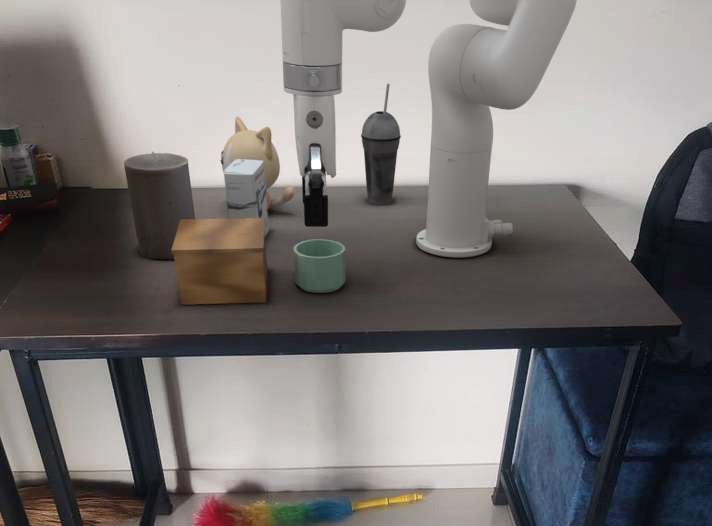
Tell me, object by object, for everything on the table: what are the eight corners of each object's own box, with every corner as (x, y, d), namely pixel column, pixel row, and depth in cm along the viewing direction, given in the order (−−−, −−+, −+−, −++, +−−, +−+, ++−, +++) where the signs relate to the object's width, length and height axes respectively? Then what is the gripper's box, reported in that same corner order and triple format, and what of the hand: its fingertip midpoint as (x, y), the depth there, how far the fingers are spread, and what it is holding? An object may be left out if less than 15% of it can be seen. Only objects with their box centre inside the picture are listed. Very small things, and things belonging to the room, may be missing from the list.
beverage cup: (356, 196, 148) (356, 80, 136) (391, 193, 150) (394, 79, 138) (367, 208, 143) (368, 89, 130) (403, 205, 145) (408, 87, 132)
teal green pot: (343, 273, 118) (343, 238, 115) (347, 293, 112) (346, 257, 109) (295, 275, 118) (293, 239, 114) (295, 295, 112) (293, 258, 108)
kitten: (208, 205, 143) (197, 117, 134) (253, 195, 148) (246, 110, 139) (252, 226, 134) (244, 134, 125) (298, 215, 139) (294, 125, 130)
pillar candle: (132, 259, 122) (113, 159, 112) (148, 237, 129) (131, 142, 120) (192, 261, 121) (179, 161, 112) (205, 239, 129) (193, 144, 120)
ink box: (259, 248, 126) (253, 173, 119) (229, 247, 126) (221, 172, 119) (270, 230, 133) (264, 158, 125) (242, 229, 133) (235, 157, 126)
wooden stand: (268, 269, 119) (264, 217, 114) (267, 303, 109) (263, 247, 104) (187, 271, 118) (180, 219, 113) (179, 305, 108) (171, 249, 103)
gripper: (346, 91, 91) (345, 235, 102) (338, 67, 105) (337, 196, 115) (283, 90, 91) (288, 235, 101) (283, 66, 104) (287, 196, 115)
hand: (314, 214), depth 108 cm, fingers open, 9 cm apart
